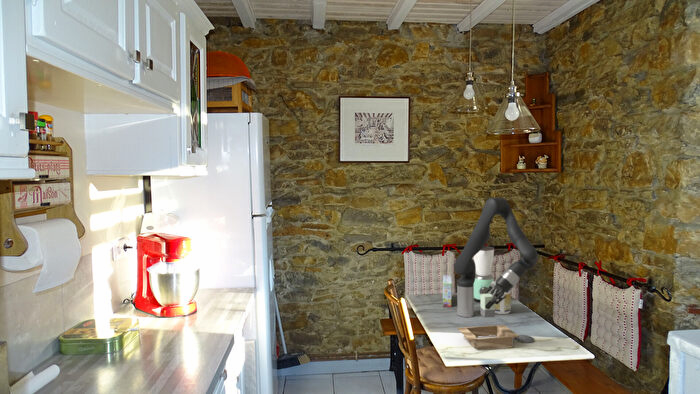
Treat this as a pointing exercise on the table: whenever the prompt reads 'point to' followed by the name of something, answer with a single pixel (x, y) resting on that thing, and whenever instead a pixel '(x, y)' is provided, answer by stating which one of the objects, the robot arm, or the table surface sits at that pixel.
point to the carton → (501, 331)
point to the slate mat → (524, 339)
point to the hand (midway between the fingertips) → (484, 306)
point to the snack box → (447, 291)
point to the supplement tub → (503, 303)
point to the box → (484, 311)
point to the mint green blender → (483, 271)
